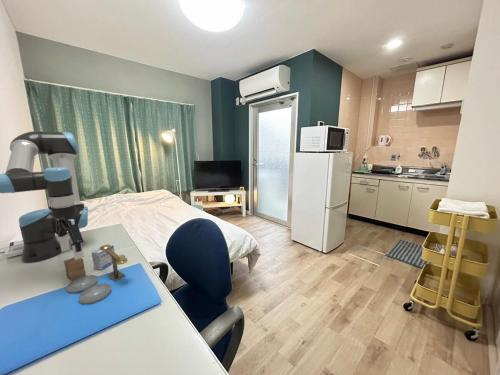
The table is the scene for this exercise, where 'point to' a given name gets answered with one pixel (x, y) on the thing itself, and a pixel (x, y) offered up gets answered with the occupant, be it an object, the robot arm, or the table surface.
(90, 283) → the dish
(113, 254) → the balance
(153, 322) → the table surface
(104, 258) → the medicine box
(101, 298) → the dish
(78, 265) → the block
